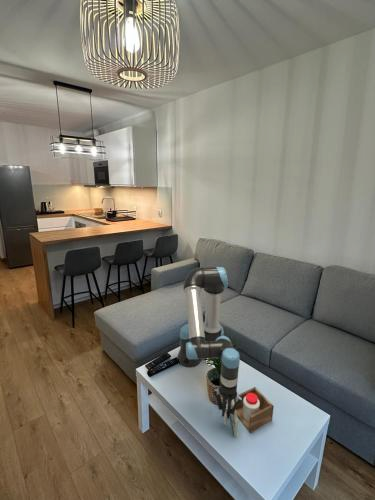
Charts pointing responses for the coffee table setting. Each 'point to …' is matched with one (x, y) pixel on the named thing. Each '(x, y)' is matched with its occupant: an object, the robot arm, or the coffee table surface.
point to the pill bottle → (250, 405)
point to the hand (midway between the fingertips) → (225, 421)
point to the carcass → (259, 417)
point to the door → (234, 420)
